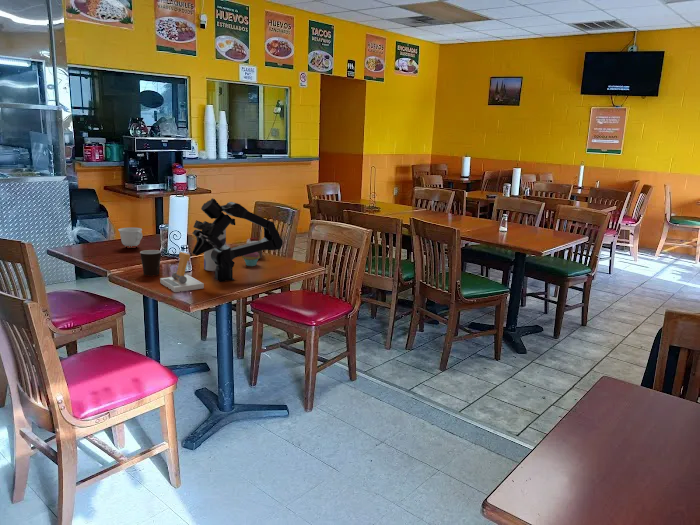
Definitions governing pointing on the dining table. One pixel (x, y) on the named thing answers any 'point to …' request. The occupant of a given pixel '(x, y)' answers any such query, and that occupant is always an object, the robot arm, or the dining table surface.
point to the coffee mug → (151, 262)
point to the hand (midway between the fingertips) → (194, 254)
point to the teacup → (130, 236)
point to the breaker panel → (181, 283)
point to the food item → (253, 242)
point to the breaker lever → (182, 264)
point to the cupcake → (251, 258)
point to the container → (208, 262)
